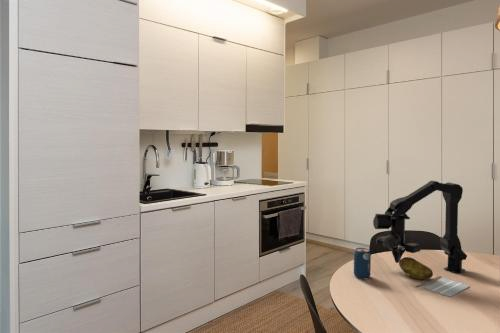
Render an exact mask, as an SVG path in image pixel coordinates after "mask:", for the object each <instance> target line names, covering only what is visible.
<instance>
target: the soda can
mask: <svg viewBox="0 0 500 333" xmlns="http://www.w3.org/2000/svg"><path fill="white" fill-rule="evenodd" d="M371 256H372V254H371V251H370V249H369V248H365V247H356V248H355V251H354V252H353V275H354V277H355V278H357V279H359V280H368V279H369V278H370V276H371V266H372V265H371Z"/></svg>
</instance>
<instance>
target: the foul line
mask: <svg viewBox="0 0 500 333" xmlns="http://www.w3.org/2000/svg"><path fill="white" fill-rule="evenodd" d="M441 277H442V276H440V275H438V276H435V277H433V278H430V279H428V280H426V281H424V282H421V283H420V284H416V286H415V287H417V288H420V287H422V286H424V285H427V284H429V283H431V282H433V281H435V280H437V279H440V278H441Z"/></svg>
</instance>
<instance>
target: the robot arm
mask: <svg viewBox="0 0 500 333" xmlns="http://www.w3.org/2000/svg"><path fill="white" fill-rule="evenodd" d="M436 191H438V192H441V193H442V198H443V200H444V202H445V226H444V228H445V229H444V230H445V232H444V234H443V236H440V237H439V241H440V242H439V246H440V249H441V250H442V251H443V252H444V255H447V266H446V267H444V268H443V270H444V271H449V272H451V273H455V274H461V273H463V272H465V271H466V269H465V268H463V261H465V260H466V259H467V257H468V255H467V253H466V252H465V251H464V250H462V242H461V240H460V238H459V236H458V225H459V224H458V222H459V220H458V219H459V218H458V217H459V215H458V214H459V203H460V201H461V200H462V195H463V192H464V189H463V187H462V186H461V185H460V184H458V183H454V182H446V183H443V182H439V181H437V180H430V181H428V182H427V183H425V184H424V185H422V186H421V187H419V188H417V189H415V190H414V191H413V192H411V193H409V194H407V195H405V196H401V197H398V198H396V199H393V200H392V201H391V202H390V204H389V207H388V208H387V209H386V210H385V212H384V213H375V214H374V215H375V216H374V217H373V220H372V224H373V227H374V229H375V230H389V229H390V230H389V231H388V235H386V236H385V235H382V236H378V237H377V238H376V241H375V243H376V245H383V247H384V248H387V249H389V250H390V252H391V253H392V256H393V259H394V262H395V263H396V264H399V261H400V260H401V259H402V258H403V255H404V254H405V252H408V253H411V254H415V253H419V252H420V251H421V245H420V244H419V243H413V242H409V243H407V239H405V235H406V234H407V230H405V229H406V220H410V219H411V217H410V216H408V214H407V213H408V212H409V211H410V210H411V209H412V207H413V206H414V205H415V204H417V203H418V202H420V201H421V200H423V199H425V198H427V196H429V195H432V193H434V192H436Z"/></svg>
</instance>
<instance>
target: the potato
mask: <svg viewBox="0 0 500 333" xmlns="http://www.w3.org/2000/svg"><path fill="white" fill-rule="evenodd" d="M398 266H399V268H400V269H401V270H402V272H403V273H405V274H407V275H409V276H410V277H411V278H414V279H416V280H427V279H428V280H430V279H432V277H433V276H434V272H433V270H432V268H431V267H429V266H427V265H425V264H423V263H422V262H420V261H418V260H417V259H415V258H413V257H409V256H406V257H405V256H404V257H401V259H400V261H399V263H398Z"/></svg>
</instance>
